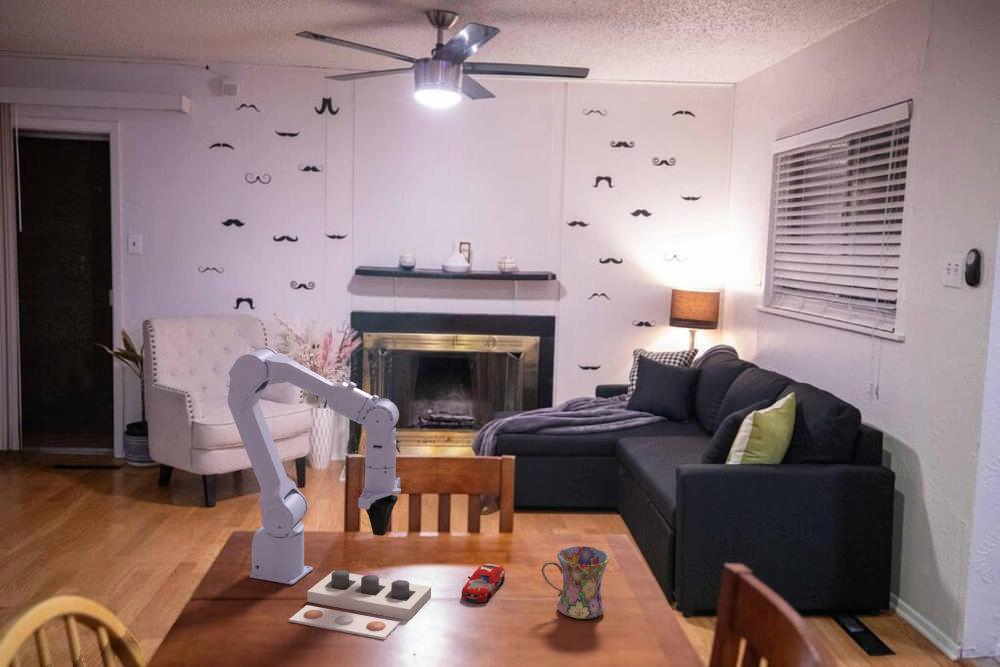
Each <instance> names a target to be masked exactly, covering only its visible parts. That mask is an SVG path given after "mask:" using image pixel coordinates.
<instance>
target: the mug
mask: <svg viewBox="0 0 1000 667" xmlns="http://www.w3.org/2000/svg"><path fill="white" fill-rule="evenodd" d="M556 555H557V556H556V557H557V559H558V561H559V564H560V565H559V564H558V563H557V562H555V561H546V562H545V563H544V564H543V565H542V567H541V573H542V576H543V578H544V579H543V580H545V582H547V584H548V585H549V586H551V588H553V589H554V590H557V591H558V593H557V596H558V597H560V599H559V600H558V601H557V610H558V611H559V612H561V613H562V614H563V615H565V616H567V617H569V618H575V619H580V620H581V619H583V620H585V619H586V620H588V619H594V618H597V617H600V616H601V615H603V613H604V611H605V605H604V603H603V600H602V594H601V591H602V590H601V588H602V587H601V586H602V585H601V584H602V579H603V575H604V573H605V571H606V570H605V569H606V568H607V566H608V564H609V561H610V556H609V554H608V553H607V552H605V551H604V550H602V549H600V548H596V547H591V546H584V545H583V546H582V545H574V546H567V547H564V548H561V549H560V550H559V551H558V552H557V554H556ZM549 565H553V566H556V567H557V568H558V570H559V572H560V574H561V575H562V581H563V582H562V586H563V587H562V589H561V588H560V587H558V586H556V585H555V584H553V583H552V582H551V581H550V580H549V579H548V577H547V575H546V574H545V567H547V566H549Z"/></svg>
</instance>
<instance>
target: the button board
mask: <svg viewBox="0 0 1000 667" xmlns="http://www.w3.org/2000/svg"><path fill="white" fill-rule="evenodd" d="M334 571H335V570H333V571H331V572H330V573H329V574H327V575H326V576H325V577H324V578H323V579H321V580H320V581H319V582H317V583H315V585H314V586H312V587H311V588H309V589H308V590H307V591H306V592H307V595H306V596H307V599H306V600H307V601H306V602H307V603H312V604H318V605H324V606H327V607H328V606H329V607H335V608H340V609H344V610H350V611H351V610H352V611H356V612H362V613H367V614H372V615H379V616H385V617H390V618H396V619H399V620H407V621H410V620H412V618H414V616H415V615H416V614H417V613H418V612H419V611H420V610H421V608H422V607H424V606H425V604H427V603H428V602H429V600H430V599H431V597H432V586H428V585H427V586H426V585H421V584H416V583H410V582H409V598H408V599H407V600H403V601H402V600H397V599H392V598H391V584H392V582H394V581H395V580H392V579H387V578H380V577H379V592H378V593H377V594H375V595H368V594H362V593H361V578H362V577H363V576H364V575H363V574H362V575H361V574H356V573H351V572H349V588H347V589H345V590H340V589H334V588H332V573H333V572H334Z"/></svg>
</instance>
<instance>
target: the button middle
mask: <svg viewBox="0 0 1000 667" xmlns="http://www.w3.org/2000/svg"><path fill="white" fill-rule="evenodd" d="M379 578H380V577H379V576H377V575H374V574H367V575H363V577H362V578H361V593H362V594H368V595H374V596H376V595H375V594H377V593H378V592H379Z"/></svg>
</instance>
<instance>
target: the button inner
mask: <svg viewBox="0 0 1000 667" xmlns="http://www.w3.org/2000/svg"><path fill="white" fill-rule="evenodd" d="M333 571H334V572H333ZM333 571H332V572H333V573H332V572H331V573H332V588H334V589H340V590H345V589H347V588H349V573H350V572H349V571H348V570H344V569H343V570H342V569H339V570H333ZM345 591H346V590H345Z"/></svg>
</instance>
